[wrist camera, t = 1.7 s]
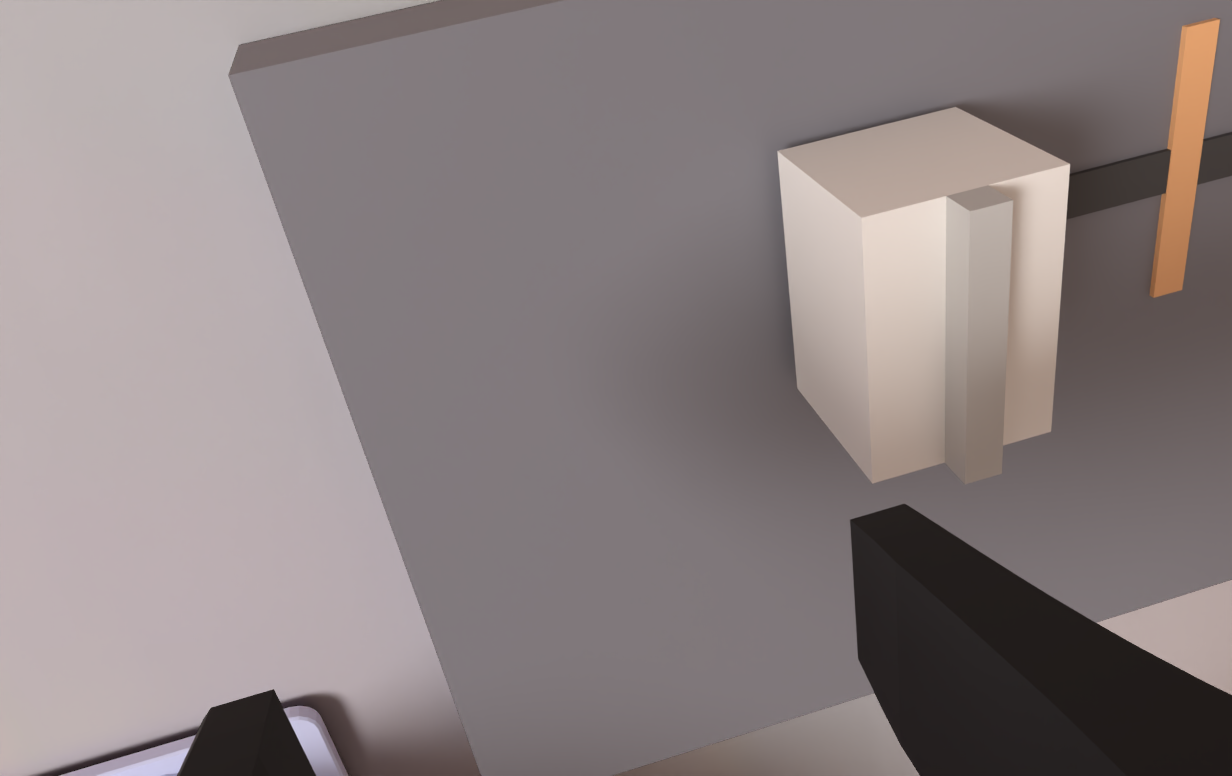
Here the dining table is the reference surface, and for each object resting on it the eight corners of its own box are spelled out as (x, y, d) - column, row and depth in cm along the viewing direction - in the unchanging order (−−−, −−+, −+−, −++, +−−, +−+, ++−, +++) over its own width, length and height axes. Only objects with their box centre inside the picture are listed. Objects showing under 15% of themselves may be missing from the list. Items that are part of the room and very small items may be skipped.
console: (482, 741, 24) (495, 818, 22) (238, 45, 16) (227, 78, 14) (1177, 527, 26) (1239, 581, 24) (1291, -188, 18) (1399, -185, 16)
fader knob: (797, 388, 18) (890, 506, 15) (776, 150, 16) (882, 234, 13) (952, 345, 19) (1074, 452, 16) (955, 106, 16) (1098, 177, 13)
